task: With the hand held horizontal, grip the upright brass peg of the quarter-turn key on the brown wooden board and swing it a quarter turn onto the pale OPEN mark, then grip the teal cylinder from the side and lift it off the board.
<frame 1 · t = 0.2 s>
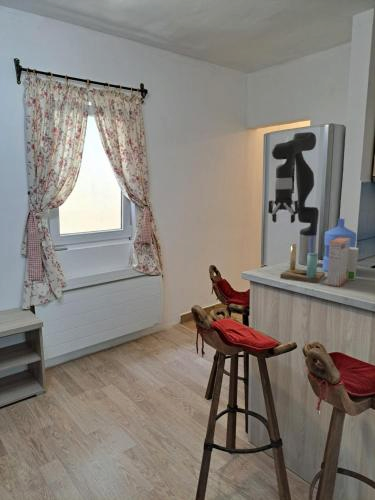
hand: (283, 222, 171), 29 cm above the countertop, tool pointing down, fingers open, 8 cm apart
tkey: (300, 258, 181), point 9 cm above the countertop, hinge at 0.0°
water jug: (337, 271, 196), on the countertop
cracker box: (337, 283, 172), on the countertop
skincare box: (346, 278, 180), on the countertop
brown wooden board: (302, 277, 182), on the countertop
teal cylinder: (311, 277, 175), point 2 cm above the countertop, touching brown wooden board
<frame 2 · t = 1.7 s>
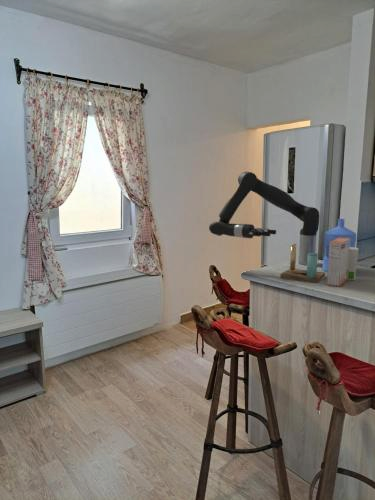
hand: (273, 233, 186), 21 cm above the countertop, tool horizontal, fingers open, 8 cm apart
nothing on the countertop moved.
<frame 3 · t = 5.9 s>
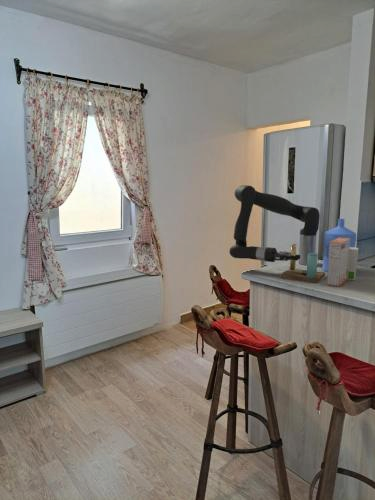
hand: (298, 257, 181), 10 cm above the countertop, tool horizontal, fingers closed on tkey, 2 cm apart
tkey: (300, 258, 181), point 9 cm above the countertop, hinge at 0.0°, touching gripper
everything else where it was.
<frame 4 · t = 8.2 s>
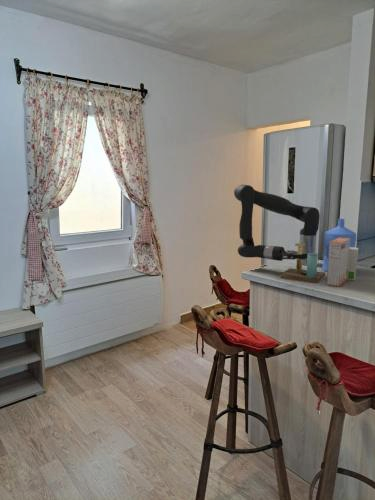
hand: (306, 256, 183), 10 cm above the countertop, tool horizontal, fingers closed on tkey, 2 cm apart
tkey: (303, 258, 182), point 9 cm above the countertop, hinge at 42.4°, touching gripper
everything else where it was.
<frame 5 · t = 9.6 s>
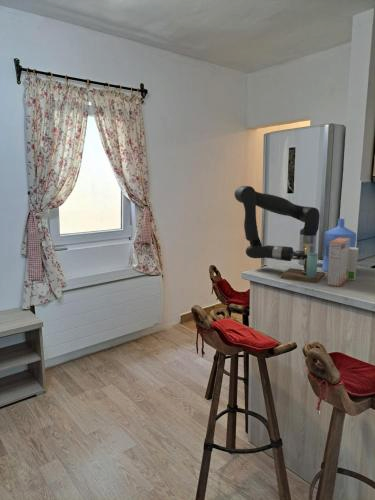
hand: (315, 256, 183), 10 cm above the countertop, tool horizontal, fingers closed on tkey, 2 cm apart
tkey: (307, 258, 182), point 9 cm above the countertop, hinge at 74.5°, touching gripper
everything else where it was.
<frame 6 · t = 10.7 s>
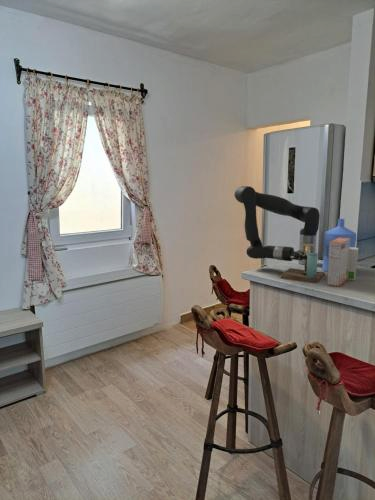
hand: (314, 256, 183), 10 cm above the countertop, tool horizontal, fingers open, 8 cm apart
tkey: (307, 258, 182), point 9 cm above the countertop, hinge at 76.9°
everything else where it was.
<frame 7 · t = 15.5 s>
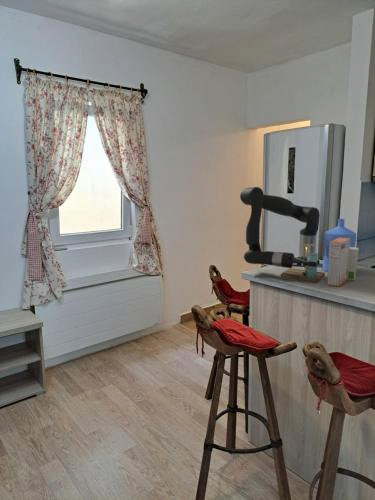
hand: (317, 263, 172), 9 cm above the countertop, tool horizontal, fingers closed on teal cylinder, 4 cm apart
teal cylinder: (311, 277, 175), point 2 cm above the countertop, touching gripper, brown wooden board
everything else where it was.
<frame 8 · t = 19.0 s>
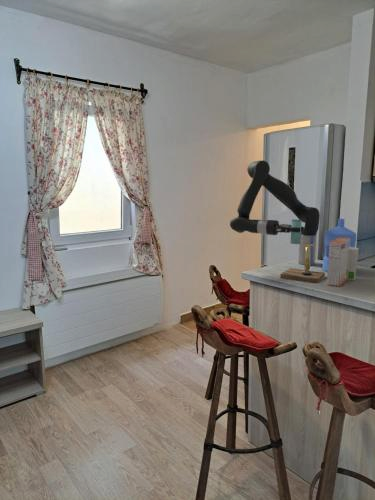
hand: (301, 229, 174), 25 cm above the countertop, tool horizontal, fingers closed on teal cylinder, 4 cm apart
teal cylinder: (295, 243, 177), point 18 cm above the countertop, touching gripper
everything else where it was.
at the end: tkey at +77° (first picture: +0°); teal cylinder point 17.9 cm above the countertop; the gripper is holding teal cylinder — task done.
